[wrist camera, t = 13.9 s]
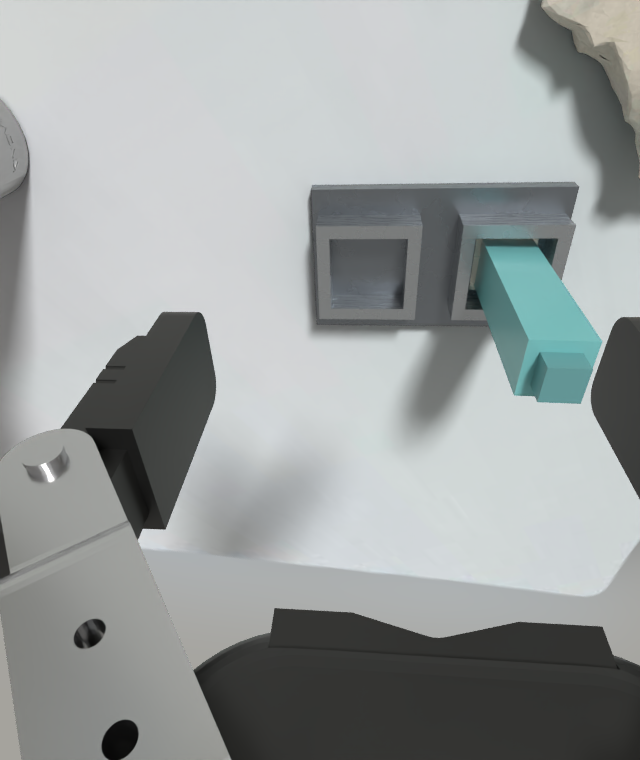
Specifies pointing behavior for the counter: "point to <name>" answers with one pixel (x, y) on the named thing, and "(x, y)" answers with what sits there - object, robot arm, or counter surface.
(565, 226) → the panel
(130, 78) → the counter surface
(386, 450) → the counter surface
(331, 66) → the counter surface
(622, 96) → the rock
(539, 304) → the plug
